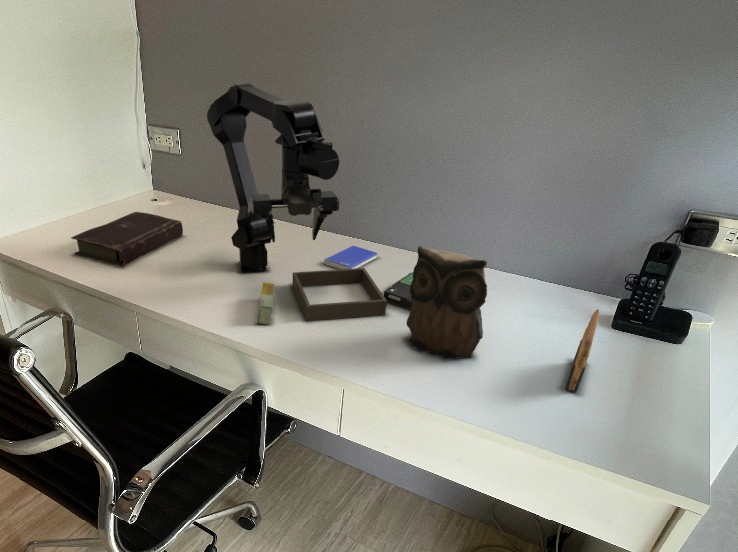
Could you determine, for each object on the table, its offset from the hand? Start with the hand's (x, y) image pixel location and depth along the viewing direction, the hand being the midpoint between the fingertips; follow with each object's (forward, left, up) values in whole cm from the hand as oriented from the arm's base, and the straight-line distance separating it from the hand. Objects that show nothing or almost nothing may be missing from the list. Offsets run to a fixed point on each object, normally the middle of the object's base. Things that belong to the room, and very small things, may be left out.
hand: (293, 240), depth 128 cm
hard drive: (+18, +14, -12) cm, 26 cm away
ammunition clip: (+45, -44, -12) cm, 64 cm away
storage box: (+9, -7, -12) cm, 17 cm away
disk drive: (+28, -8, -12) cm, 32 cm away
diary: (-40, +34, -12) cm, 54 cm away
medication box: (-8, -10, -12) cm, 18 cm away
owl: (+26, -29, -12) cm, 41 cm away
